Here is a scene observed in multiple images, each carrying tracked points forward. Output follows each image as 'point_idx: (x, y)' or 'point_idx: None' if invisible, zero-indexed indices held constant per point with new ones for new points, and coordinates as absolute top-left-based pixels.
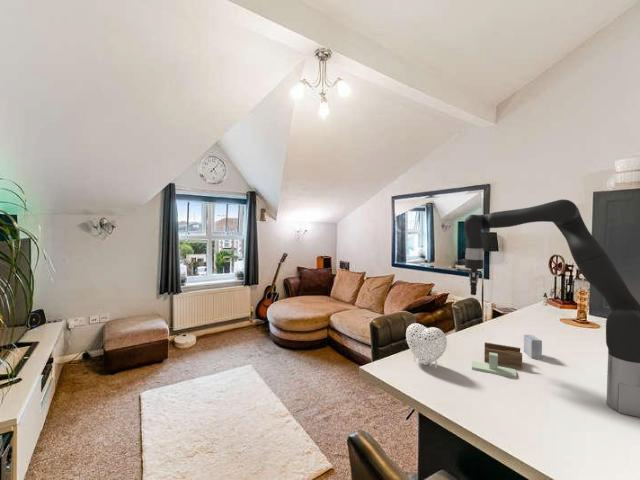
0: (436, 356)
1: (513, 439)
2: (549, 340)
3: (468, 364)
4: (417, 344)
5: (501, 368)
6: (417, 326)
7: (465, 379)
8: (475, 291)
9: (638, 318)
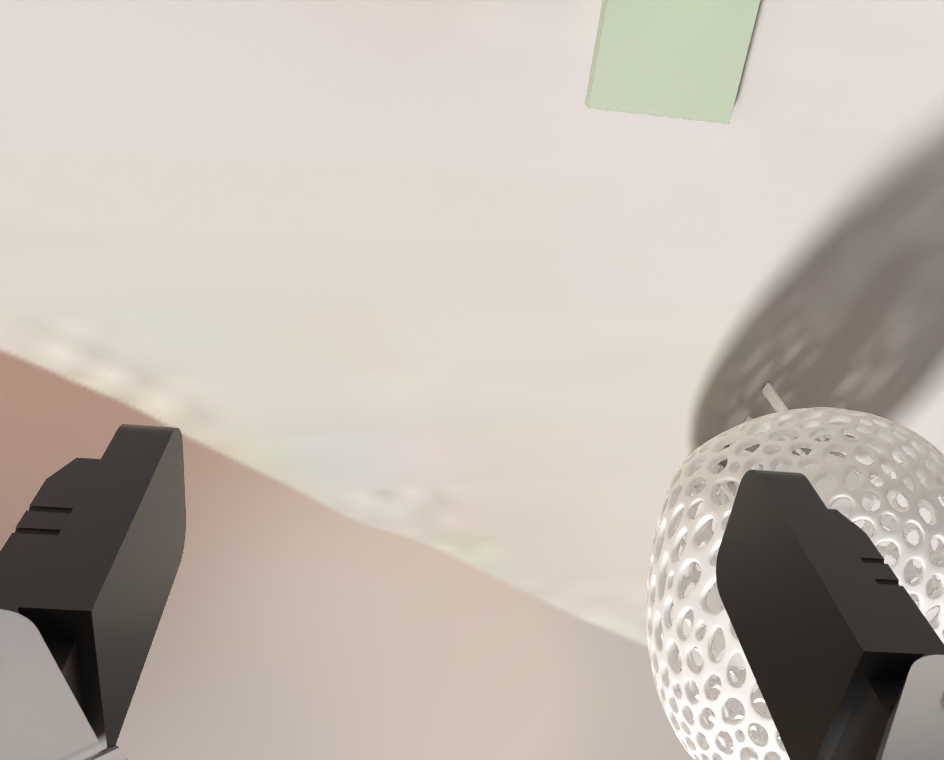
0: (872, 445)
1: None
2: None
3: (621, 139)
4: None
5: None
6: (709, 729)
7: (935, 183)
8: (840, 552)
9: None
